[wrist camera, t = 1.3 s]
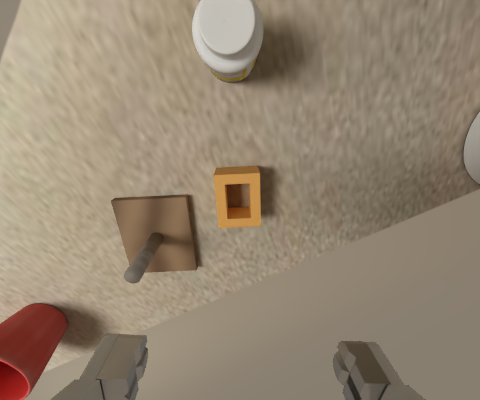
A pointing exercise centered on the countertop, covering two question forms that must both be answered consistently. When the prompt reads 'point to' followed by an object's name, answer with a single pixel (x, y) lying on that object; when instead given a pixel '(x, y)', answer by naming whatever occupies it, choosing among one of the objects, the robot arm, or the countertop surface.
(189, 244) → the peg mounting plate
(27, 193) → the countertop surface
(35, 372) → the flower pot
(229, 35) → the supplement bottle
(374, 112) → the countertop surface
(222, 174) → the orange hollow square block
